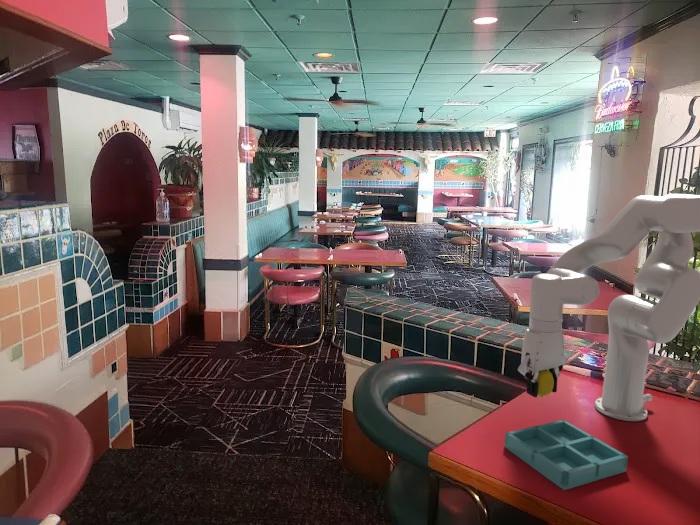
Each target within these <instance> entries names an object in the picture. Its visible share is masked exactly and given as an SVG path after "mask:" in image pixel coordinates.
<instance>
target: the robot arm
mask: <svg viewBox="0 0 700 525" xmlns="http://www.w3.org/2000/svg"><path fill="white" fill-rule="evenodd" d="M651 232H658V236H657V241H656V243H655V245H654V246H653V249H652V250H651V252H650V253H649V255H648V256H647V258H646V260H645V261H644V262H643V264H642V266H641V267H640V268H639V270H638V272H637V274H636V276H635V279H634V287H635V288H636V289H637V290H638V292H639V293H641V294H643V295H645V296H648V297H651V298H654V299H657V300H658V302H657V301H653V300H651V299H647V298H644V297H641V296H639V295H634V294H621V295H618V296H617V297H615V298H614V299H613V300H611V302H610V304H609V305H608V309H607V322H608V323H607V324H608V345H607V351H606V352H607V353H606V360H605V368H604V370H605V371H604V376H603V377H604V378H603V386H602V393H601V394H602V395H601V397H598V398H596V400H595V402H594V408H595V409H596V410H597V411H598V412H600V413H601V414H602V415H605V416H607V417H609V418H613V419H616V420H620V421H626V422H640V421H644V420H646V419H647V418H648V413H649V412H648V410H647V409H646V408H645V407H644V404H645V403H646V402H647V403H648V402H651V401H653V398H654V397H653V395H652V394H651V393H646V394H644V391H645V382H646V375H647V368H648V360H649V355H650V348H649V342H648V341H650V342H651V343H655V344H666V343H669V342H670V341H672V340H673V339H675V338H676V337H677V335H678V334H679V333H680V331H681V330H682V329H683V327H684V326H685V325H686V322H687V321H688V320H689V318H690V317H691V315H692V313H693V312H694V310H695V309H696V307H697V306H698V304H699V302H700V272H699V271H698V270H696V269H695V268H692V267H689V266H687V265H688V263H689V261H690V260H691V258H692V256H693V255H694V254H693V253H694V247H695V246H694V240H693V237H692V236H693V235H692V234H691V233H700V194H690V193H689V194H688V193H668V194H665V195H662V196H661V195H651V194H650V195H638V196H635V197H633V198H632V199H630V201H628V202H627V204H626V205H624V206H623V208H622V209H621V210H620V211H619V212H618V213H617V214H616V215H615V216H614V218H613V219H612V220H611V221H610V222H609V223H608V224H606V226H605V227H604V228H603V229H601V231H600V232H599V233H598V234H597V235H595V236H593V237H590V238H588V239H586V240H585V241H583V242H581V243H579V244H577V245H576V246H573V247H571V248H570V249H569V250H567V251H566V252H564V253H563V254H562V255H561V256H560V257H559V258H558V259H557V260H556V261H555V263H553V265H552V266H551V267H550V268H549V270H548V271H547V272H546V273H538V274H535V275H533V277H532V278H531V281H530V282H531V283H530V300H529V301H530V303H529V304H530V305H529V320H528V321H529V322H528V323H529V324H528V328H527V329H526V330H525V333H524V338H523V341H522V342H523V343H522V350H521V357H520V358H521V359H520V364H519V366H518V368H517V371H518V372H519V373H520V374H521V375H522V376H523V377H524V378H525V379H526V393H527V395H530V396H531V397H533V398H538V397H539V395H538V382H536V380H537V377H538V374H539V371H542V370H549V371H550V372H551V373H552V375H553V379H554V387H553V390H552V391H551V392H552V393H557V391H558V378H559V377H560V375H561V374H560V373H561V371H562V370H563V368H564V366H565V365H566V364H567V363H568V359H567V357H566V355H564V354H565V339H564V331H563V327H562V326H563V324H562V323H563V322H564V317H563V311H564V305H573V306H575V305H576V306H585V305H589V304H591V303H594V301H595V300H597V298H598V297H599V295H600V285H599V283H598V281H597V280H596V279H595V278H593V277H592V276H590V275H588V274H584V273H582V272H583V271H585V270H587V269H588V268H590V267H593V266H596V265H598V264H600V265H601V264H603V263H604V264H605V263H610V262H615V261H620V260H623V259H625V258H627V257H628V256H629V255H631V254H632V252H633V251H634V250H635V249H636V248H637V246H639V244H640V243H641V242H642V241H643V240H644V239H645V238H646V236H648V235H649V234H650V233H651ZM533 372H534V373H533ZM532 373H533V376H532Z"/></svg>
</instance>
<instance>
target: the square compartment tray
mask: <svg viewBox="0 0 700 525" xmlns="http://www.w3.org/2000/svg"><path fill="white" fill-rule="evenodd" d="M504 448H505V449H506V450H508V451H510V452H511V453H512V454H513V455H514V456H516V457H517V458H519V459H520V460H522V461H523V462H525V464H528V465H529V466H530V467H531V468H532V469H534V470H535V471H537V472H539V474H541V475H542V476H544V477H545V478H546V479H547V480H549V481H551V482H552V483H553V484H555V485H556V486H557V487H558V488H561V489H562V490H563V491H566V490H570V489H574V488H576V487H580V486H583V485H587V484H590V483H593V482H596V481H599V480H602V479H606V478H610V477H612V476H615V475H619V474H622V473H625V472H627V469H628V467H627V466H628V462H629V461H628V460H629V456H628V455H627V454H625V453H623V452H621V451H619V450H618V449H617V448H614V447H612V446H611V445H609V444H608V443H606V442H604V441H603V440H600V439H599V438H598V437H595V436H594V435H591V434H590V433H589V432H586V431H585V430H583V429H581V428H579V427H577V426H576V425H574V424H572V423H570V422H569V421H567V420H566V419H559V420H555V421H551V422H546V423H542V424H538V425H534V426H528V427H526V428H525V427H524V428H521V429H516V430H512V431H508V432H505V436H504Z"/></svg>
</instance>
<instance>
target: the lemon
mask: <svg viewBox="0 0 700 525" xmlns="http://www.w3.org/2000/svg"><path fill="white" fill-rule="evenodd" d="M533 373H534V371H532V373H531V375H532V376H533ZM536 382H538V397H539V398H544V397H545V396H549V395H550V394H551V392H552V390H553V387H554V379H553V375H552V373H551V372H550V371H549V370H548V369H547V370H542V371H539V374H538V377H537V380H536Z"/></svg>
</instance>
